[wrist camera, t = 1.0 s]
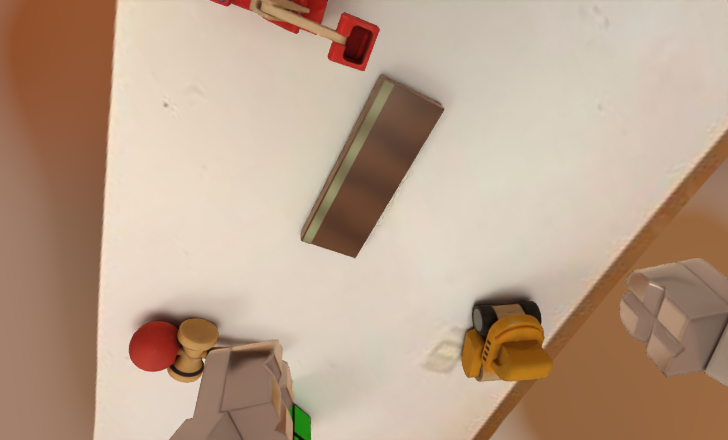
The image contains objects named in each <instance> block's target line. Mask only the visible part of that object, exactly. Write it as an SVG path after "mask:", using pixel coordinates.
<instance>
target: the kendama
mask: <svg viewBox="0 0 728 440" xmlns="http://www.w3.org/2000/svg"><path fill="white" fill-rule="evenodd" d="M218 335H219V332H218V330H217V328H216V326H215V325H213V324H212V323H211V322H209V321H207V320H204V319H198V318H192V319H188V320H186V321H184V322H183V323H182V324H181V325H180V328H179V330H178V329H177V328H176V327H175V326H173V325H172V324H170V323H168V322H164V321H153V322H149V323H147V324H145V325H143V326H141V327H140V328H139V329H138V330H137V331H136V332H135V333H134V335H133V337H132V339H131V341H130V344H129V355H130V358H131V360H132V362H133V363H134V364H135V365H136V366H137V367H138V368H140V369H142V370H145V371H150V372H155V371H160V370H163V369H166V368H167V370H168V373H169V375H170V376H171V377H172V378H173V379H175V380H177V381H180V382H185V383H186V382H193V381H195V380H197V379H198V378H199V377H200V376H201V375H202V373H203V370H204V363H203V361H202V358H205V359H206V357H207V355H208V354H209V352H210V351H211V350H217V349H223V348H229V347H213V346H214V345H215V344H216V341H217V338H218Z"/></svg>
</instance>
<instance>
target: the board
mask: <svg viewBox="0 0 728 440" xmlns="http://www.w3.org/2000/svg"><path fill="white" fill-rule="evenodd" d="M443 111H444V108H443V107H442V106H441V104H439V103H437V102H435V101H433V100H431V99H429V98H427V97H425V96H423V95H421V94H419V93H417V92H415V91H413V90H411V89H409V88H407V87H405V86H403V85H401V84H399V83H397V82H395V81H393V80H391V79H389V78H387V77H385V76H383V75H380V77H379V79H378V81H377V83H376V85H375V87H374V89H373V91H372V93H371V95H370V97H369V99H368V101H367V103H366V105H365V107H364V109H363V111H362V113H361V115H360V117H359V119H358V121H357V123H356V124H355V126H354V128H353V130H352V132H351V134H350V136H349V138H348V140H347V142H346V144H345V146H344V148H343V150H342V152H341V154H340V156H339V158H338V160H337V162H336V164H335V166H334V168H333V170H332V172H331V174H330V176H329V178H328V180H327V182H326V184H325V186H324V188H323V190H322V191H321V193H320V195H319V197H318V199H317V201H316V203H315V205H314V207H313V209H312V211H311V213H310V215H309V217H308V219H307V221H306V223H305V225H304V227H303V229H302V231H301V241H302V242H305V243H308V244H314V245H317V246H320V247H323V248H326V249H329V250H332V251H335V252H338V253H341V254H344V255H347V256H350V257H353V258H356V256H357V255H358V253H359V251H360V250H361V248H362V246H363V245H364V243H365V241H366V240H367V238H368V236H369V235H370V233H371V231H372V230H373V228H374V226H375V225H376V223H377V221H378V220H379V218H380V216H381V215H382V213H383V211H384V210H385V208H386V206H387V204H388V203H389V201H390V199H391V198H392V196H393V194H394V193H395V191H396V189H397V188H398V186H399V184H400V183H401V181H402V179H403V178H404V176H405V174H406V173H407V171H408V169H409V168H410V166H411V164H412V163H413V161H414V159H415V158H416V156H417V154H418V153H419V151H420V149H421V148H422V146H423V144H424V143H425V141H426V139H427V138H428V136H429V134H430V133H431V131H432V129H433V128H434V126H435V124H436V123H437V121H438V119H439V118H440V116H441V114H442V113H443Z"/></svg>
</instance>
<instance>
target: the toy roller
mask: <svg viewBox="0 0 728 440" xmlns="http://www.w3.org/2000/svg"><path fill="white" fill-rule="evenodd" d="M472 319H473V320H472V321H473V325H474V329H472V330H470V331H468V332H467V334H466V338H465V343H464V349H463V355H462V366H463V369H464V372H465V374H466V376H467V377H468V378H471V377H475V378H476V380H477V381H479V382H482V381H494V380H504V381H519V380H528V379H537V378H543V377H546V376H548V375H549V374H550V372H551V370H552V368H553V362H552V360H551V359H550V357H549V356H548V354H547V353H545V352H544V350H543V348H542V347H541V346H542V343H543V341H544V331H543V328H542V326H541V322H542V321H541V313H540V310H539V308H538V306H537V304H536V303H535V302H533V301H528V302H518V303H517V304H511V305H499V306H491V305H490V304H488V305H476V306H474V307H473V312H472Z"/></svg>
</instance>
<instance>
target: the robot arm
mask: <svg viewBox="0 0 728 440" xmlns="http://www.w3.org/2000/svg"><path fill="white" fill-rule="evenodd" d="M625 284H626V286H627V287H628V288H629V289H630V290H629V291H628V292H627V293H626V294H625V295H624V296H623V297H622V299H621V303H620V308H619V310H620V314H621V319H622V322H623V323H624V326H625V328H626V329H627V330H628V332H629V333H630V334H631V335H632V337H633V338H635V339H637V340H639V341H641V342H643V343H645V344H646V354H647V355H648V356H649V357H650V358H651V360H652V361H653V362H654V363H655V364H656V366H657V367H658V368H659V369H660V370H661V372H662V373H663V374H664V375H665V376H666V377H671V376H677V375H683V374H689V373H695V372H701V371H705V372H704V373H705V374H707V375H709V376H710V377H712V378H714V379H715V380H717V381H719V382H721V383H722V384H724V385H726V386H727V387H728V278H727V277H725V276H724V275H722V273H720V272H719V271H718V270H717V269H715V268H714V267H713V266H712V265H710V264H709V263H708V262H707V261H705V260H702V259H699V258H695V259H690V260H685V261H680V262H675V263H669V264H664V265H659V266H654V267H649V268H645V269H639V270H635V271H632V272H631V273H630V274H629V275H628V276H627V280H626V283H625ZM292 405H293V387H292V378H291V374H290V369H289V366H288V364H287V362H285V361H284V360H282V347H281V345H280V342H279V340H270V341H263V342H257V343H251V344H245V345H239V346H233V347H229V348H223V349H217V350H211V351H210V352H209V354H208V355H207V357H206V361H205V366H204V370H203V375H202V379H201V384H200V388H199V393H198V397H197V402H196V407H195V411H194V416H193V418H190V419H186V420H185V421H184V423H183V424H182V425H181V426H180V427H179V429H178V430H177V431H176V432H175V433H174V435H173V436H172V437H171V438H170V439H169V440H293V421H292V419H291V416H290V413H289V409H290V408H291V406H292Z"/></svg>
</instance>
